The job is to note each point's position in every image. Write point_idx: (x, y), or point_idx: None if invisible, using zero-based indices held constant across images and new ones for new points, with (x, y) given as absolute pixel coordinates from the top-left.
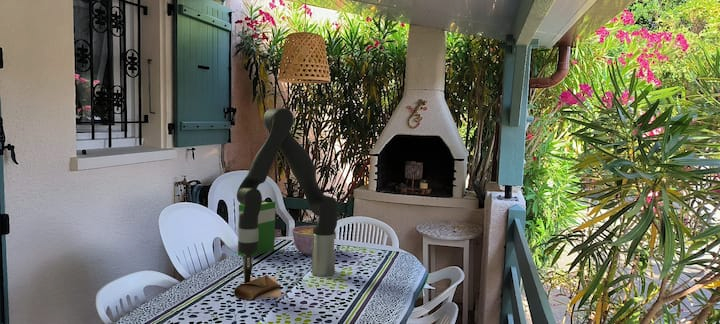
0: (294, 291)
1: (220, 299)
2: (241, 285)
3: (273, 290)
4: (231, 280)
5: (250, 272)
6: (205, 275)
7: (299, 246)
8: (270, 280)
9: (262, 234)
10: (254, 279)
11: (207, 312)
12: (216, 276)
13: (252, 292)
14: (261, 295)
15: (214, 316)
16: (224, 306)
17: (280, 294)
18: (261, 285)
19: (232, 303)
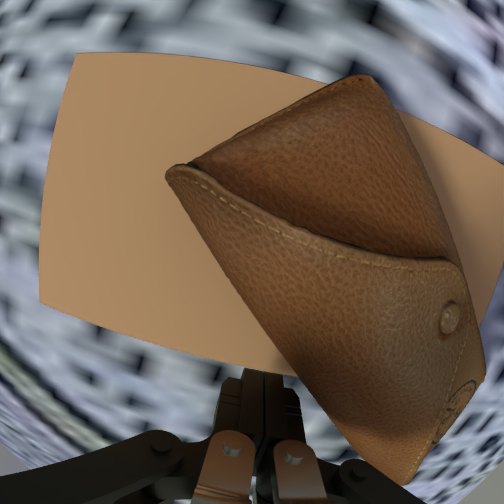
0: (468, 47)
1: None
2: (408, 470)
3: None
4: (60, 388)
5: (397, 495)
6: (5, 433)
7: None
8: (339, 163)
9: None
10: (59, 243)
11: (445, 498)
12: (9, 411)
13: (471, 387)
14: None
15: (483, 477)
16: (445, 470)
17: (499, 169)
18: (463, 325)
19: (444, 450)
